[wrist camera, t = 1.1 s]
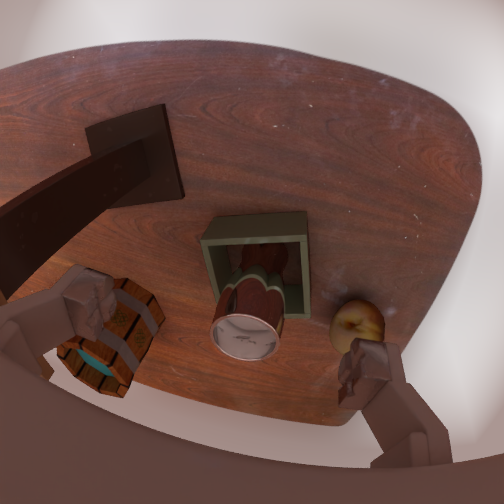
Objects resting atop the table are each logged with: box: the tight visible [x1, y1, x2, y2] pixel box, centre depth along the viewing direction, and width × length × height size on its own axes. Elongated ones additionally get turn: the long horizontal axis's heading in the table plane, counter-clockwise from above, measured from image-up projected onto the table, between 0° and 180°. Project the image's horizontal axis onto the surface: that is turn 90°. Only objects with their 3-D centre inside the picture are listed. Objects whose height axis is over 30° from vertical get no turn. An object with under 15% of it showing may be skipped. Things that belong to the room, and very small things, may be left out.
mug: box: [57, 278, 165, 398], centre depth 44 cm, size 20×14×15 cm
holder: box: [200, 211, 312, 319], centre depth 37 cm, size 12×12×6 cm
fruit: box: [329, 300, 385, 355], centre depth 39 cm, size 8×8×8 cm
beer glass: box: [210, 242, 288, 362], centre depth 34 cm, size 7×7×15 cm
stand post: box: [0, 104, 185, 301], centre depth 24 cm, size 12×12×27 cm
